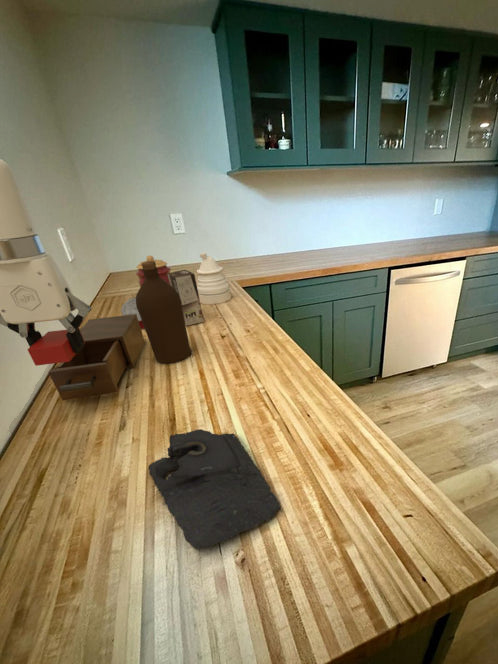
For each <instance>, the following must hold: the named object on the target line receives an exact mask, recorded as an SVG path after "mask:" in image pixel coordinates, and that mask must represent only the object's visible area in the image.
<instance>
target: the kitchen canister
mask: <svg viewBox="0 0 498 664" xmlns="http://www.w3.org/2000/svg"><path fill="white" fill-rule="evenodd" d="M147 261H154V262H155V263H156V267H157V269H158V273H159V277H160V278H161V279H162V280H164V281H165V282H167V283H168V284H170V282H169V278H168V274H167V273H171V271H172V270H171V267H169V266H167V265H168V263H167V262H166V261H164V260H162V259H155V258H154V256H153V255H147V256H146V260H144V261H140V262H139V264H138V265H136V269H137V271H136V272H135V275H136V276H137V277H138V284H139V288H140V287H141V286H142V284H143V282H144V280H145V277H144V274H143V270H142V269H143V267H142V265H141V263H143V262H147Z"/></svg>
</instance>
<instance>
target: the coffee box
mask: <svg viewBox="0 0 498 664" xmlns="http://www.w3.org/2000/svg"><path fill="white" fill-rule="evenodd" d="M167 274H168V278H169V282H170V285H171V286H172V287H174V288H175V289H176V291H177V292H178V294H179V296H180V299H181V301H182V309H183V314H184V320H185V325H186V327H188V326H193V325H196V324H201V323H204V322H205V320H204V314H203V309H202V305H201V304H202V303H200V299H199V294H198V289H197V280H196V275H195V273H193V272H191V271H189V270H187V269H181V270H176V271H172V272H170V273H167Z"/></svg>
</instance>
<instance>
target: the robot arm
mask: <svg viewBox="0 0 498 664" xmlns="http://www.w3.org/2000/svg"><path fill="white" fill-rule="evenodd" d="M37 231H38V230H37V228H36V227H35V224H34V222H33V219H32V217H31V214H30V212H29V209H28V207H27V205H26V202H25V199H24V196H23V194H22V192H21V189H20V188H19V185H18V183H17V180H16V178H15V175H14V173H13V171H12V168H11V167H10V165H8V163H7V162H6V161H5V160H3V159H1V158H0V325H2V326H3V327H7V329H9V330H11V331H13V332H15V333H16V334H18V335H19V336H20V337H21V338H23V339H25V340H26V343H27V344H28V346H29V348H30V347H31V346H32V345H33V344H34V343H35V342H37V341H38V340H39V339H40V338H41V337H43V334H42V333H41V332H40V331H39V330H36V324H35V323H43V322H50V321H59V323H60V324H61V325H62V326H63V327H64V328H65V330H67V331H68V332H67V333H66V336H67V339H68V341H69V343H70V345H71V347H72V350H73V352H74V353H79V352H80V351H81V350H82V348H83V347H84V340H83V338H82V335H81V333H80V330H79V329H80V327H81V325H82V323H83V322H84V320H85V318H86V317H87V316H88V315H89V313H91V311H92V306H90V305H89V304H88V303H85V302H84V301H83V300H81V299H80V298H79V297H77V296H75V295H74V294H73V292H72V290H71V287H70V285H69V283H68V281H67V280H66V278H65V275H64V274H63V272H62V270H61V268H60V267H59V265H58V264H57V262H56V261H55V260H54V258H53V256H52V255H51V254H47V253H46V250H45V248H44V246H43V244H42V243H43V242H42V241H41V238H40V236H39V234H38V232H37ZM75 310H77V311H78V312H77V314H76V315H74V314H73V313H72V312H74V311H75Z"/></svg>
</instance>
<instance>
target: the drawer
mask: <svg viewBox="0 0 498 664" xmlns="http://www.w3.org/2000/svg"><path fill="white" fill-rule="evenodd" d="M127 363H128V360H127V357H126V355H125V352H124V349H123V346H122V343H121V340H112V341H104V342H96V343H88V344H84V347H83V348H82V350H81V351H80V352H79V353H76V354H75V356H74V357H73V358H72V359H71V360H70V361H69V362H62V363H58V365H57V366H56V367H57V368H53V369H50V370H49V371H48V373H47V374H48V375H49V377H50V378H51V380H52V383H53V385H54V387H55V388H56V391H57V392H58V395H59V396H60V398H61V401H69V400H75V399H76V400H77V399H83V398H90V397H96V396H102V395H109V394H115V393H118V392H119V387H118V383H119V382H120V380H121V378H122V375H123V373H124V371H125V370H126V369H125V367H126V365H127Z"/></svg>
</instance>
